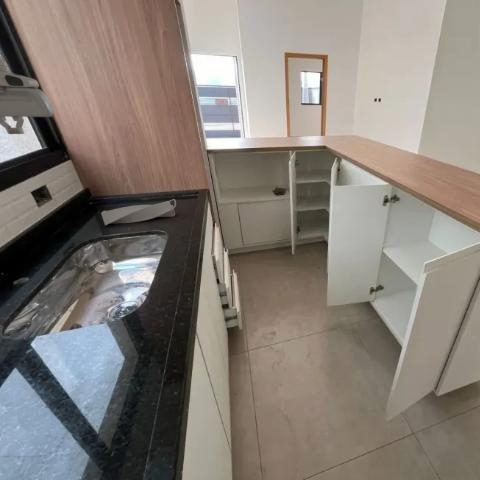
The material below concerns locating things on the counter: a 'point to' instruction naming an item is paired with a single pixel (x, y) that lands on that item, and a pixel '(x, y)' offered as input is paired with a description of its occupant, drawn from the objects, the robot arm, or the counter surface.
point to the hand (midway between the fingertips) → (16, 133)
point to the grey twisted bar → (138, 213)
